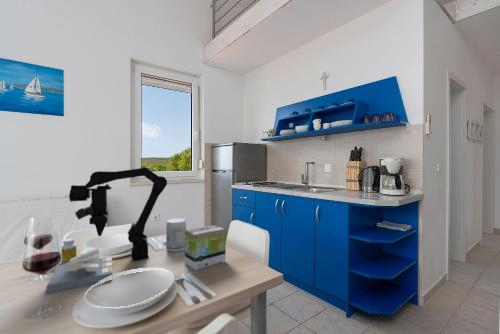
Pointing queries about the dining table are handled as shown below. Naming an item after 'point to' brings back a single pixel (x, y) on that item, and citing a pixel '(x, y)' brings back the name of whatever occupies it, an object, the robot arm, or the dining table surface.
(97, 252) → the rocker
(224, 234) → the tea box
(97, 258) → the rocker
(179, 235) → the supplement tub
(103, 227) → the robot arm
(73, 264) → the rocker
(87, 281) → the switch panel
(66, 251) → the supplement bottle
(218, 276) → the dining table surface
